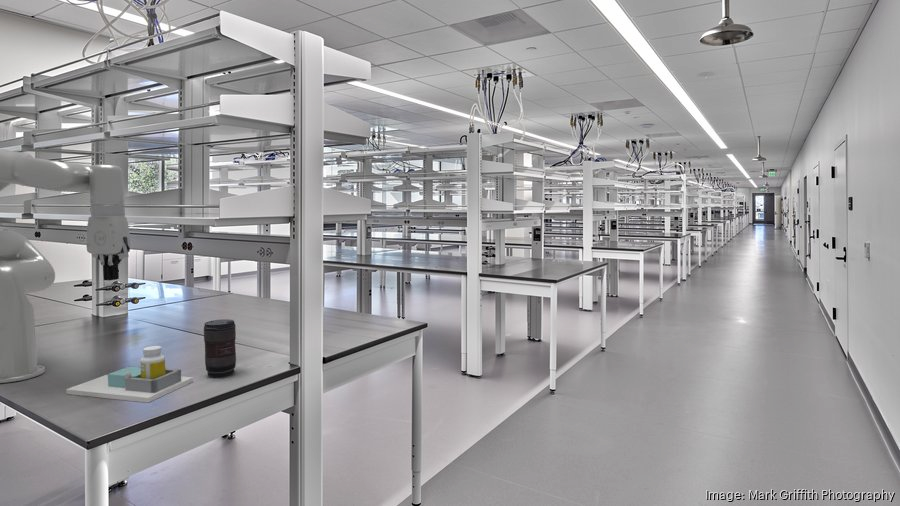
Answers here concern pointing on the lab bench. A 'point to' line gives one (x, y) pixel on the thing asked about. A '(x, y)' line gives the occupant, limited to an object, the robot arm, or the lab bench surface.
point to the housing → (122, 376)
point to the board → (133, 387)
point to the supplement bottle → (152, 363)
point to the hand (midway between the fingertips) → (111, 279)
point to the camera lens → (220, 347)
